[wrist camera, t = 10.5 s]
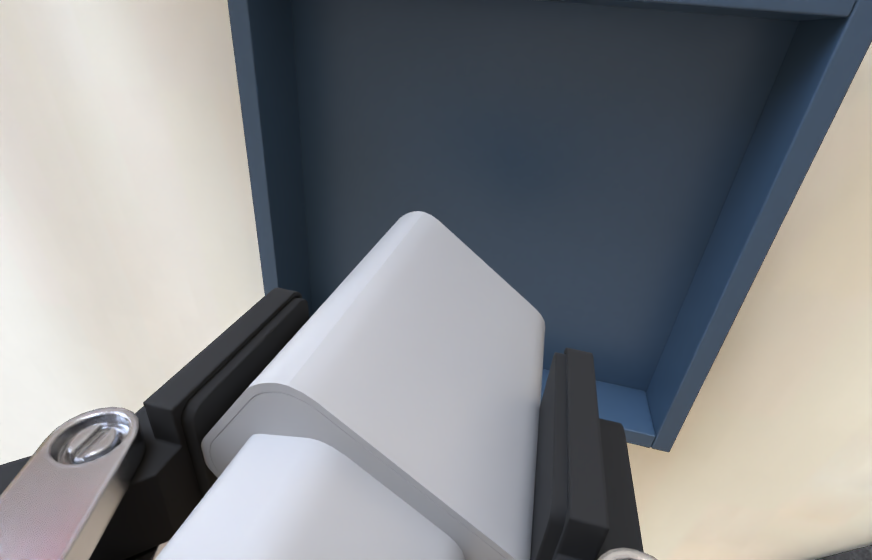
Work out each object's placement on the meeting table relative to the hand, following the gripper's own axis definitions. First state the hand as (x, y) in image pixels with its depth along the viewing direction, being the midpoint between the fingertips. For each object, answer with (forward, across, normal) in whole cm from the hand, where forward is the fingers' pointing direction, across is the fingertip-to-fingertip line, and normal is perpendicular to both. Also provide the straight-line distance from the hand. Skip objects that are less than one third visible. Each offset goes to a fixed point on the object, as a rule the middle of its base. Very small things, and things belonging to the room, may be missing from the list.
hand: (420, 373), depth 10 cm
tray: (+12, 0, 0) cm, 12 cm away
